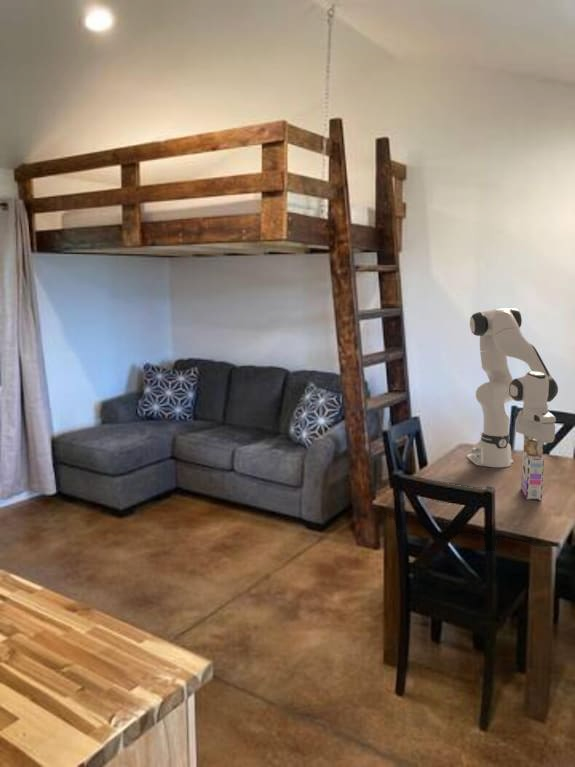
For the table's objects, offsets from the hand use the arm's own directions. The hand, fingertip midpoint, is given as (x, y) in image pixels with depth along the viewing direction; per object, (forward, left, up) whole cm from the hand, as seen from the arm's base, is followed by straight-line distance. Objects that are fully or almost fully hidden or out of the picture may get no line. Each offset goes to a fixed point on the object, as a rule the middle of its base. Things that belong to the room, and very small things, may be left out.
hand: (533, 448), depth 243 cm
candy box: (0, 0, -19) cm, 19 cm away
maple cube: (0, 0, -2) cm, 2 cm away
